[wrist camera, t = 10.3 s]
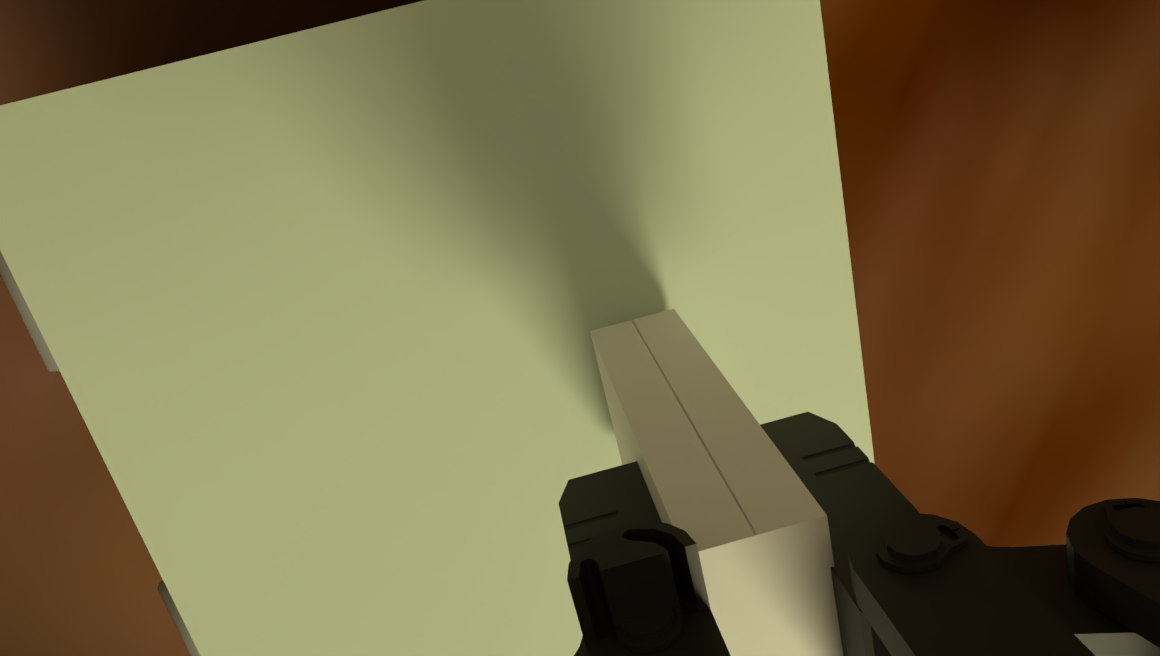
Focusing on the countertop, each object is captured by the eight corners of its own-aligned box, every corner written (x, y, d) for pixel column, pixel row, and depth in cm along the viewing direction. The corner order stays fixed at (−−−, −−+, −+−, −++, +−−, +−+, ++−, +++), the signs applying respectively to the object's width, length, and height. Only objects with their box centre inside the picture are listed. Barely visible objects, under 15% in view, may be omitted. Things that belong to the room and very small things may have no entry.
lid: (246, 729, 20) (233, 759, 19) (-53, 119, 15) (-86, 127, 14) (884, 621, 18) (896, 648, 18) (796, -92, 13) (808, -96, 13)
